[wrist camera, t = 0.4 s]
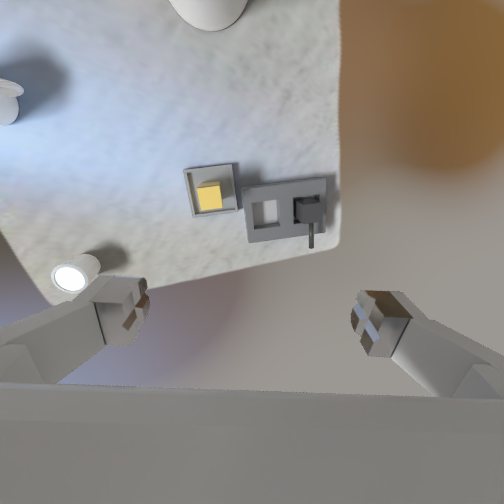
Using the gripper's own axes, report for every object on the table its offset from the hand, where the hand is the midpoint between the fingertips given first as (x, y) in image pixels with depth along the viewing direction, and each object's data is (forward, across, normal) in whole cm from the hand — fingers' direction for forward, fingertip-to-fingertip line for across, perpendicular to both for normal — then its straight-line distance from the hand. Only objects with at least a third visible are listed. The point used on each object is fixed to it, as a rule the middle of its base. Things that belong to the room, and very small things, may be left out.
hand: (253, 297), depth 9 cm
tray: (+45, +8, +6) cm, 46 cm away
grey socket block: (+46, -8, +9) cm, 48 cm away
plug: (+44, +8, +6) cm, 45 cm away
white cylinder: (+41, +36, +24) cm, 59 cm away
